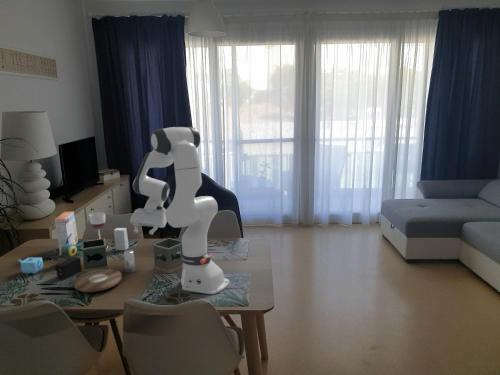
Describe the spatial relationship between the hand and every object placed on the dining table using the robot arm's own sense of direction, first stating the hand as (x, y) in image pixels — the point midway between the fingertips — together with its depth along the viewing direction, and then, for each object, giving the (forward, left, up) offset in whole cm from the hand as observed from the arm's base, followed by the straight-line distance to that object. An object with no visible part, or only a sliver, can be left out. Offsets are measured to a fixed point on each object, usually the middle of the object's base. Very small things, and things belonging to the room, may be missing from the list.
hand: (143, 232), depth 190 cm
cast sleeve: (-2, +12, -15) cm, 20 cm away
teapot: (+41, +36, -16) cm, 57 cm away
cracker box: (+50, +9, -16) cm, 53 cm away
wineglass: (+37, -2, -16) cm, 40 cm away
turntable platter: (0, +29, -14) cm, 32 cm away
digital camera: (+22, +29, -16) cm, 39 cm away
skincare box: (+24, -6, -16) cm, 29 cm away
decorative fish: (+34, +18, -16) cm, 42 cm away
